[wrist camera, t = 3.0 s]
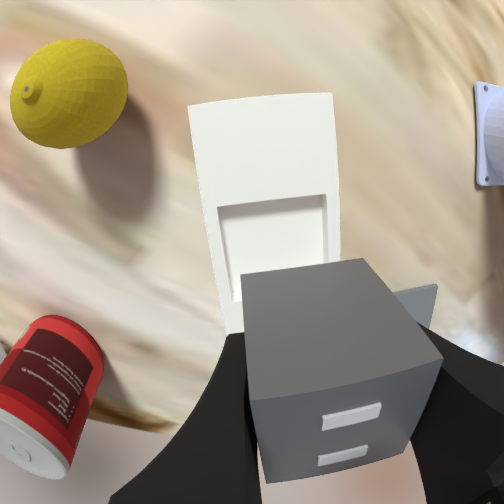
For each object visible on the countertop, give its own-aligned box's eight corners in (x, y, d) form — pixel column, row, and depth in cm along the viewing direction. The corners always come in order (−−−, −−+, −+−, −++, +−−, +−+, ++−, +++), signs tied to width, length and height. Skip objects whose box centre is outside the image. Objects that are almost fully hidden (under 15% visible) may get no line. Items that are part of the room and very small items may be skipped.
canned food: (46, 375, 24) (4, 462, 14) (19, 306, 21) (-49, 395, 11) (115, 387, 24) (84, 491, 14) (94, 315, 21) (35, 429, 11)
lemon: (163, 92, 16) (115, 73, 8) (100, 159, 17) (27, 188, 10) (106, 37, 14) (38, 0, 7) (49, 104, 15) (-35, 108, 8)
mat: (435, 283, 22) (437, 286, 22) (414, 371, 26) (416, 374, 26) (319, 306, 22) (320, 309, 22) (317, 395, 26) (318, 398, 26)
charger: (362, 258, 11) (445, 360, 6) (355, 350, 13) (403, 455, 7) (240, 274, 11) (249, 404, 6) (253, 366, 13) (266, 486, 7)
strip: (194, 108, 16) (185, 105, 13) (316, 96, 16) (335, 91, 13) (247, 412, 26) (249, 442, 23) (322, 401, 26) (331, 430, 23)
